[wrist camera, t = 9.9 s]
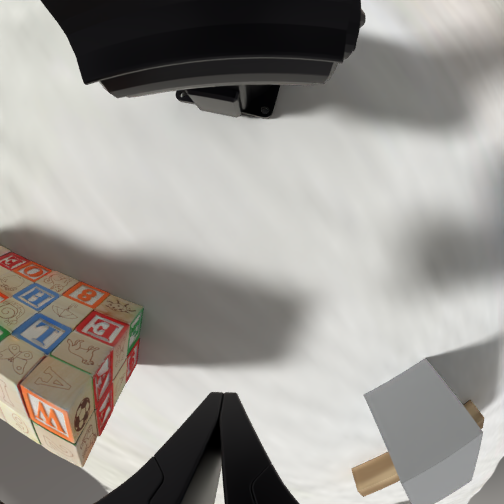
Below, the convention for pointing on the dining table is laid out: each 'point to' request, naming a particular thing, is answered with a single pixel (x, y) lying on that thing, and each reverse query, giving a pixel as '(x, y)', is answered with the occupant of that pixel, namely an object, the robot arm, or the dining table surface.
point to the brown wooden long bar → (391, 464)
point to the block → (426, 433)
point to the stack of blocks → (61, 355)
